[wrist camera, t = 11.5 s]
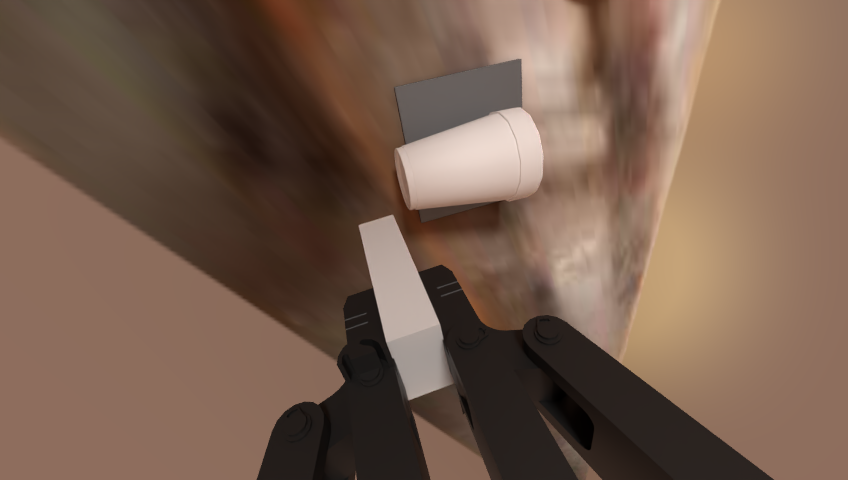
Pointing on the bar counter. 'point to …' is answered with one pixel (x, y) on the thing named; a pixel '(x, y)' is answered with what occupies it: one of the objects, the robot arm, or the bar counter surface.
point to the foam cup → (473, 162)
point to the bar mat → (457, 108)
